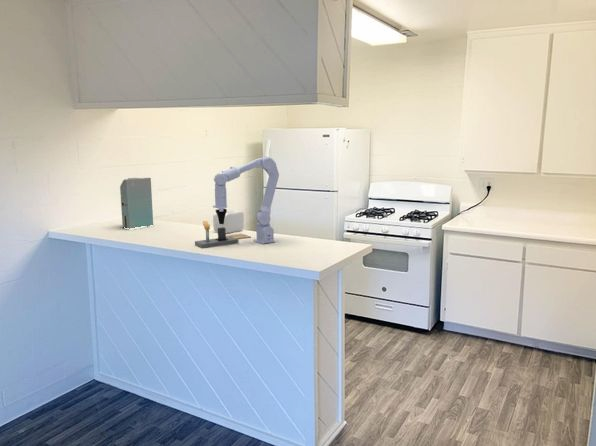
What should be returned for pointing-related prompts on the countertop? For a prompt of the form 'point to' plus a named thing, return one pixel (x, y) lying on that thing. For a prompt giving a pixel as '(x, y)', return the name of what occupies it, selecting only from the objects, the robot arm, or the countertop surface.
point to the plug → (221, 234)
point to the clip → (206, 225)
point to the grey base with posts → (215, 241)
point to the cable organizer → (230, 221)
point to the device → (136, 202)
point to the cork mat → (239, 236)
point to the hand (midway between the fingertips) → (221, 223)
